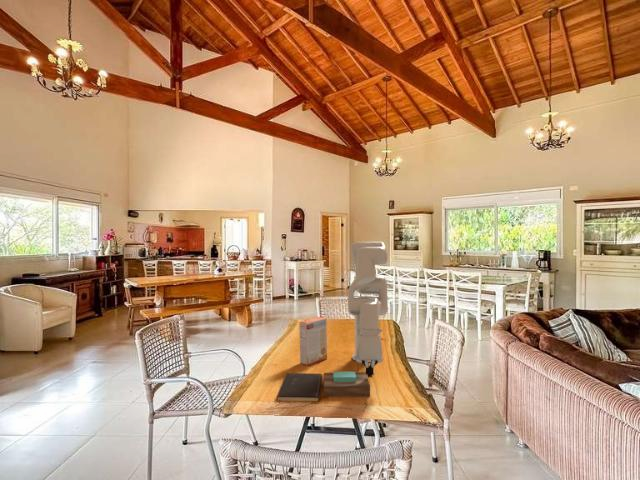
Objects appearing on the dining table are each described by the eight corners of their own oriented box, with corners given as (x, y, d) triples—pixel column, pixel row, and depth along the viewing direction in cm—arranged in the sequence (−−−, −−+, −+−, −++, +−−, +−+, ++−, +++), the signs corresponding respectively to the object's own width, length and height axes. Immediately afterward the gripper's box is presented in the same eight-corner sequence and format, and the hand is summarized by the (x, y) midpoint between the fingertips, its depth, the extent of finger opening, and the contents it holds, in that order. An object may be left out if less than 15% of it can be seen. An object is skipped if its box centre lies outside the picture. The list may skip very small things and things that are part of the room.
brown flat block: (323, 382, 152) (323, 372, 152) (365, 381, 152) (365, 372, 151) (324, 396, 138) (323, 386, 138) (370, 396, 138) (370, 386, 137)
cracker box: (319, 356, 185) (319, 316, 185) (327, 359, 180) (327, 318, 180) (299, 363, 175) (298, 321, 175) (307, 366, 171) (307, 323, 170)
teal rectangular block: (333, 376, 148) (333, 371, 148) (354, 376, 148) (354, 371, 148) (333, 382, 142) (333, 377, 142) (356, 382, 142) (356, 377, 142)
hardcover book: (277, 402, 135) (277, 396, 135) (286, 378, 158) (286, 373, 158) (319, 402, 134) (318, 396, 134) (322, 378, 157) (322, 373, 157)
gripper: (385, 329, 148) (386, 372, 148) (350, 329, 148) (350, 373, 148) (389, 334, 141) (389, 379, 141) (351, 334, 141) (352, 380, 141)
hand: (369, 376), depth 144 cm, fingers closed
